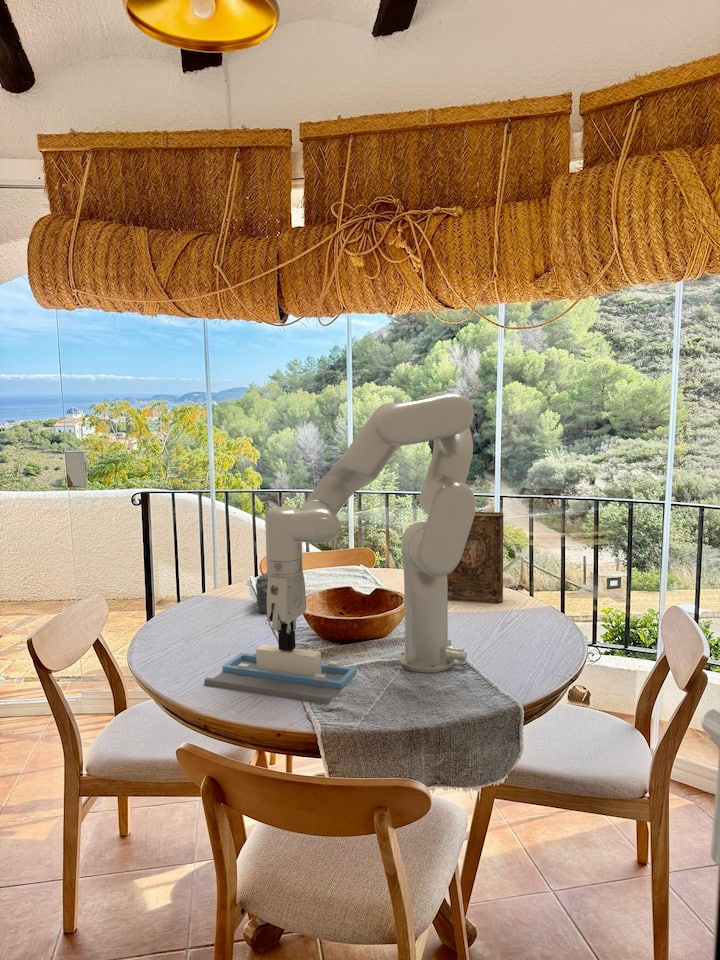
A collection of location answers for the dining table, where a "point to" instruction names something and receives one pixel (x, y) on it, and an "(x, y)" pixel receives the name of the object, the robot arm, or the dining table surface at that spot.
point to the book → (480, 562)
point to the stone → (262, 592)
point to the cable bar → (288, 660)
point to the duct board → (282, 680)
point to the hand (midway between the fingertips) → (287, 649)
